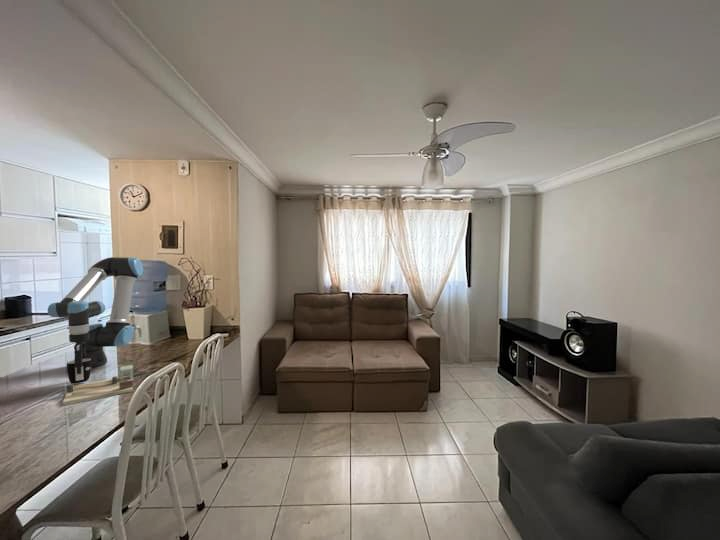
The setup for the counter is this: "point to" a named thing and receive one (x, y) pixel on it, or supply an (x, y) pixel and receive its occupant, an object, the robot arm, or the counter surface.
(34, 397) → the counter surface
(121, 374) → the block
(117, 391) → the board
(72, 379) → the mug
